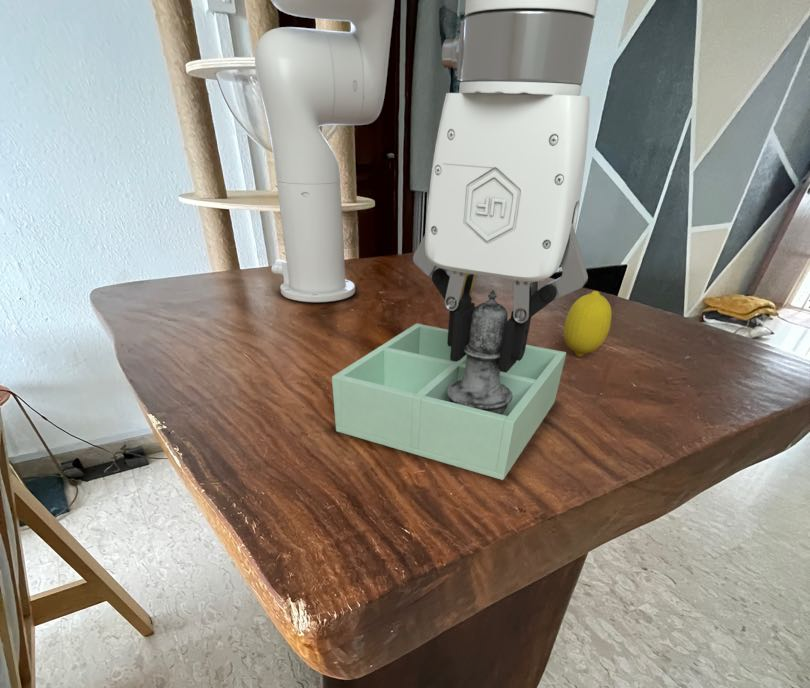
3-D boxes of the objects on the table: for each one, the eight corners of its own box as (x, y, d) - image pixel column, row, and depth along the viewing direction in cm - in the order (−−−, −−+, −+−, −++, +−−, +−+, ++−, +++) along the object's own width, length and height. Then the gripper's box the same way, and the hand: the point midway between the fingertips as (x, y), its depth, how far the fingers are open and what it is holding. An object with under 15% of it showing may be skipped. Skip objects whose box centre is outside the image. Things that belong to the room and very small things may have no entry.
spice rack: (335, 431, 49) (331, 376, 45) (414, 370, 60) (416, 323, 57) (503, 480, 43) (513, 422, 39) (554, 402, 54) (566, 352, 51)
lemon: (594, 368, 62) (613, 300, 57) (551, 358, 64) (566, 292, 59) (605, 354, 66) (624, 289, 60) (565, 345, 68) (580, 282, 62)
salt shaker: (504, 447, 44) (530, 304, 36) (439, 439, 45) (450, 297, 37) (507, 417, 48) (531, 283, 40) (448, 410, 49) (460, 278, 41)
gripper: (373, 60, 30) (378, 356, 42) (659, 58, 25) (569, 400, 37) (426, 68, 35) (416, 331, 47) (673, 68, 30) (590, 366, 42)
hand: (484, 359), depth 42 cm, fingers closed on salt shaker, 3 cm apart
